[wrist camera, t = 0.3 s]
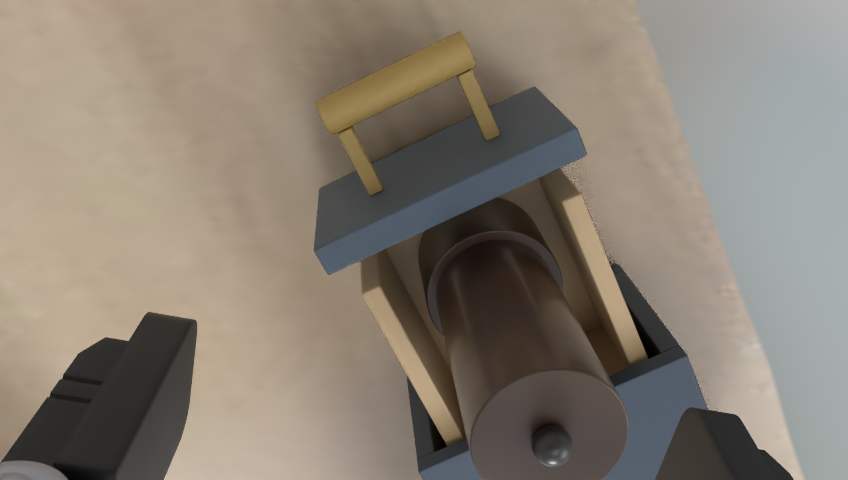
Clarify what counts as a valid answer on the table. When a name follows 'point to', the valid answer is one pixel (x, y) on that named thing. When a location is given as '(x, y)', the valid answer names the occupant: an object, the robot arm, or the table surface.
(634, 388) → the cabinet
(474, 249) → the pepper mill
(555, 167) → the drawer
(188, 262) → the table surface
